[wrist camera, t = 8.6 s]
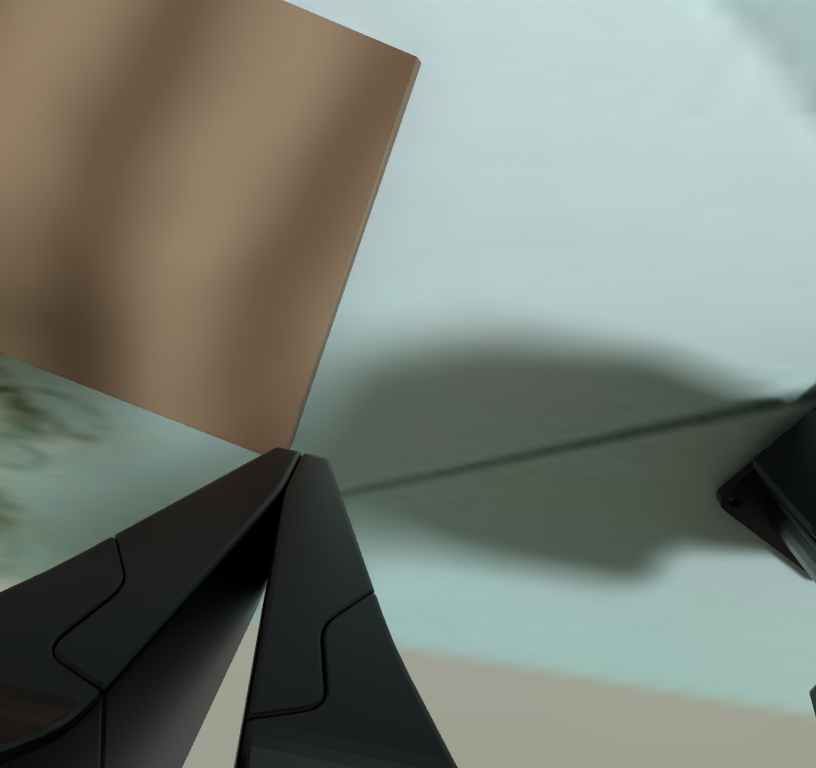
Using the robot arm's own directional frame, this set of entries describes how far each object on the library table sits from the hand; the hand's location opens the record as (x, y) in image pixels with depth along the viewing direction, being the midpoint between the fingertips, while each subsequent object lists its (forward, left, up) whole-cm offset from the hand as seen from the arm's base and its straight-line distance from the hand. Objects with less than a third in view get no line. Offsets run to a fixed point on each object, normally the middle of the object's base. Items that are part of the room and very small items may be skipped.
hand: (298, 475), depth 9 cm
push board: (+14, +4, -11) cm, 18 cm away
